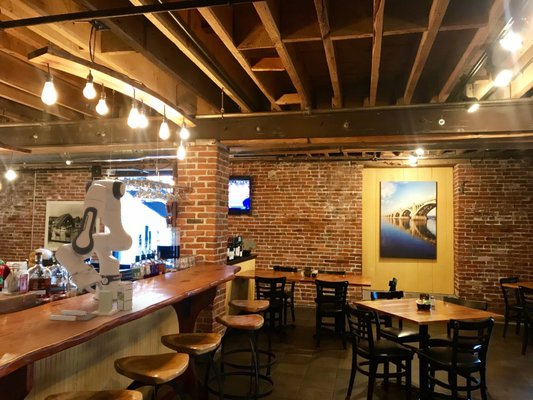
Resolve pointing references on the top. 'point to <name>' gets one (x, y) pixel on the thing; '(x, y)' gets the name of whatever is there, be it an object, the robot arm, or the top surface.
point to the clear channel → (73, 318)
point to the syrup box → (124, 295)
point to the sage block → (105, 300)
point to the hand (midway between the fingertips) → (98, 291)
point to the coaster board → (106, 312)
